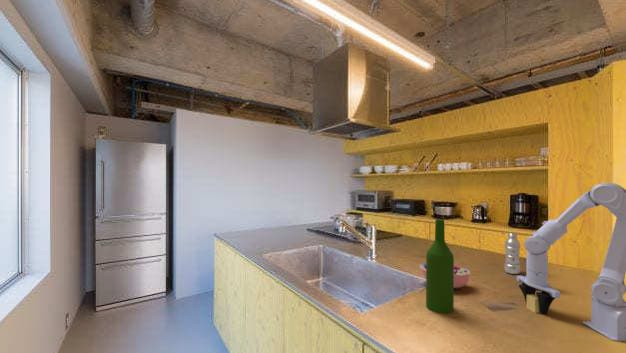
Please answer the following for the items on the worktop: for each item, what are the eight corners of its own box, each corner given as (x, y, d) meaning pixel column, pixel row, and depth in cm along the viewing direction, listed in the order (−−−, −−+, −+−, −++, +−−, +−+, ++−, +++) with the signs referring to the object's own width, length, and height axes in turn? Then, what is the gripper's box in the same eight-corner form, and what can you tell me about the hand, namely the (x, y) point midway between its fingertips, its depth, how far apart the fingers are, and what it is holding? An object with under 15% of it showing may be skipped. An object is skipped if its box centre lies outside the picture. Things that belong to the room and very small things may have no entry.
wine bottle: (439, 302, 103) (439, 217, 103) (459, 314, 94) (459, 221, 94) (420, 306, 99) (420, 218, 99) (440, 318, 91) (440, 222, 91)
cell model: (475, 299, 106) (475, 270, 106) (420, 292, 112) (420, 264, 112) (466, 283, 122) (466, 258, 122) (418, 277, 128) (418, 253, 128)
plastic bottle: (501, 272, 135) (501, 232, 135) (509, 270, 138) (509, 231, 138) (515, 276, 130) (515, 235, 130) (523, 274, 132) (523, 233, 132)
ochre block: (547, 317, 92) (547, 299, 92) (535, 316, 93) (535, 299, 93) (538, 311, 96) (538, 294, 96) (526, 310, 97) (526, 294, 97)
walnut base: (538, 323, 88) (538, 319, 88) (500, 322, 89) (500, 318, 89) (514, 306, 100) (514, 302, 100) (480, 304, 101) (480, 301, 101)
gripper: (568, 277, 88) (568, 319, 88) (528, 263, 102) (528, 299, 102) (549, 278, 87) (549, 320, 87) (511, 264, 101) (511, 300, 101)
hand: (536, 309), depth 94 cm, fingers closed on ochre block, 4 cm apart
